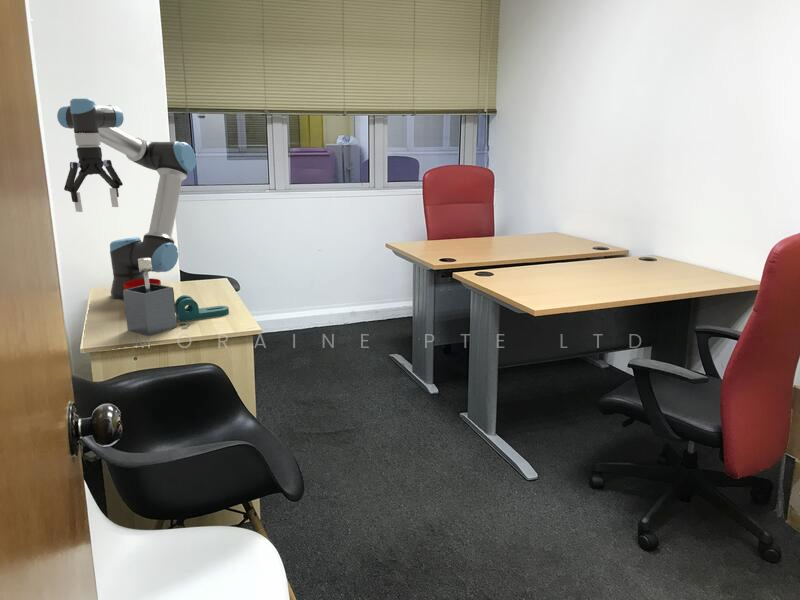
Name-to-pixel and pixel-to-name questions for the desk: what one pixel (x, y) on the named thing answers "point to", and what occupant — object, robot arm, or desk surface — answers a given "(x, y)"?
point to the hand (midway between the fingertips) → (97, 209)
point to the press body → (150, 309)
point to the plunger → (145, 270)
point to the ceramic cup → (140, 283)
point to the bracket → (196, 310)
